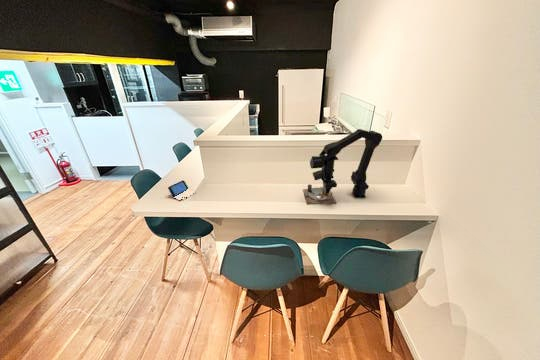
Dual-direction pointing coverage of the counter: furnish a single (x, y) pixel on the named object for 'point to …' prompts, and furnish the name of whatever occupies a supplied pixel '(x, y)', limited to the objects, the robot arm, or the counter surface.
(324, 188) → the roller
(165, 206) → the counter surface
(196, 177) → the counter surface
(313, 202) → the sprocket base
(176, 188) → the handheld game console
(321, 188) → the sprocket
